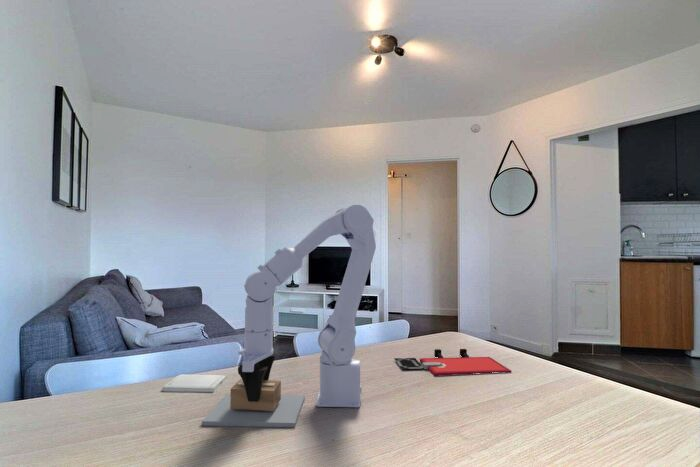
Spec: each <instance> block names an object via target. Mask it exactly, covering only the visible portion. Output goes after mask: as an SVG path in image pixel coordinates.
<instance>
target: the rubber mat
mask: <svg viewBox="0 0 700 467" xmlns="http://www.w3.org/2000/svg"><path fill="white" fill-rule="evenodd" d="M305 396H306V395H304V394H303V395H300V394H299V395H298V394H295V395H293V394H288V395H287V394H281V400H280V401H279V403H278V405H277V406H276V408H275V410H274V411H265V410H245V409H230V400H231V393H228V394H227V393H225V394H224V396H223V397H222V398H221V399H220V400H219V401H218V402H217V404H216V405H215V406H214V407H213V408H212V409H211V410H210V412H208V413H207V415H206V416H205V417H204V418H203V419H202V421H201V426H208V427H212V426H213V427H214V426H216V427H261V428H262V427H263V428H264V427H265V428H266V427H268V428H269V427H270V428H271V427H272V428H273V427H274V428H296V427H297V426H296V425H297V423H298V420H299V417H300V413H301V411H302V409H303V408H302V407H303V405H304V402H305Z"/></svg>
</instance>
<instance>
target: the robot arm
mask: <svg viewBox="0 0 700 467" xmlns="http://www.w3.org/2000/svg"><path fill="white" fill-rule="evenodd" d="M374 221H375V220H374V218H373V217H372V215H371V213H370V211H369V210H368V209H367V208H366V207H365V206H363V205H361V204H351V205H350V206H348V207H345V208H340V209H338V210H337V211H336V212H334V214H331V215H329V216H328V217H327V218H325V219H324V220H322V221H321V222H320V223H319V224H318V225H317V226H315V228H313V229H312V230H311V231H310V232H309V233H308V234H307V235H306V236H305V237H303V238H302V239H301V240H300V241H299V242H298V243H297V244H295V245H294V246H293V247H287V246H285V247H283V248H282V249H280V248H278V249H276V250H275V251H274V254H275V255H274V256H272V257H271V258H270V259H268V260H267V261H266V262H265V263H264V264H263V265H262V264H259V265H258V266H257V270H259V271H256V272H255V271H254V272H253V273H252V272H251V273H250V274H249V276H248V277H247V278H246V281H245V282H244V283H245V284H244V285H243V286H244V290H245V293H246V294H247V295H246V299H245V305H246V306H245V308H244V347H243V348H240V349H239V350H238V355H240V356H243V361H242V363H241V364H239V366H238V367H237V373H238V375H239V376H240V379H242V380H243V383H244V386H245V390H246V394H247V399H248V401H249V402H258V401H259V399H260V395H261V388H262V382H263V380H270V375H271V370H272V367H273V364H274V362H275V360H276V358H277V353H276V352H274V347H273V338H274V337H273V336H274V335H273V333H274V332H273V327H274V305H273V296H274V295H275V293H276V290H277V287H279V286H282V285H283V284H284V283H285V282H287V280H288V279H289V278H291V277H292V276H293V275H294V274H295V273H297V271H299V270H300V269H301V268H302V267H303V260H304V258H305V257H306V256H308V255H309V254H310V253H311V252H313V251H314V250H315V249H317V247H319V246H320V245H322V244H323V243H324V242H325V241H326V240H328V239H329V238H330V237H333V236H337V235H341V236H342V237H343V238H345V240H346V242H347V243H348V245H349V246H350V248H351V252H350V256H349V259H348V262H347V267H346V268H345V269H346V270H345V273H344V276H343V278H342V283H341V285H340V288H339V292H338V295H337V299H336V302H335V305H334V309H333V312H332V314H331V315H329V317H328V318H327V320H326V324H325V325H324V327H323V328H322V329H321V331H319V333H318V336H317V344H318V346H319V348H320V349H321V351H322V352H321V354H320V356H319V391H318V395H317V398H316V402H315V406H316V407H318V408H320V407H322V408H323V407H324V408H326V407H327V408H330V407H331V408H360V407H361V395H362V388H363V387H362V384H361V360H360V359H355V358H353V357H354V356H355V352H356V340H355V339H356V335H357V328H356V322H355V320H356V316H357V313H358V310H359V306H360V303H361V300H362V297H363V292H364V289H365V287H366V282H367V280H368V275H369V273H370V269H371V266H372V263H373V259H374V256H375V251H376V246H377V244H376V238H375V234H374V233H375V232H374Z"/></svg>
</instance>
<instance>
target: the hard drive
mask: <svg viewBox="0 0 700 467" xmlns="http://www.w3.org/2000/svg"><path fill="white" fill-rule="evenodd" d="M227 379H228V375H220V374H219V375H218V374H217V375H215V374H178V375H177V376H175V377H174V378H172V379H171V380H170V381H169V382H167V383H166V384H164V385H163V386H162V392H184V393H185V392H188V393H189V392H191V393H194V392H195V393H198V392H199V393H215V391H217V390H218V389H219V387H221V385H223V383H225V381H226V380H227Z"/></svg>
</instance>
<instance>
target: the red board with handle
mask: <svg viewBox="0 0 700 467" xmlns="http://www.w3.org/2000/svg"><path fill="white" fill-rule="evenodd" d="M433 351H434V355H433V356H435V357H438V358H435V357H434V358H433V357H428V358H419V361H418V360H417V358H416V357H401V358H400V357H398V358H393V359H394V360H395V362H396V363H397V364H398V366H399V367H400V369H401V370H407V369H408V370H410V369H412V370H413V369H423V368H424V369H428V370H429V371H430V372H431V373H432V374H433V375H434V376H433V375H432V374H431V373H430V372H429V371H428V370H427V371H428V372H429V373H430V374H431V375H432V376H433V377H440V376H439V375H451V376H453V375H452V374H472V375H474V374H473V373H492V372H512V370H511V369H509V368H507V367H506V366H505V365H504V364H502V363H500V362H498V361H496V360H495V359H494V358H492V357H490V356H480V357H479V356H469V354H468V350H467V349H466V348H460V349H459V356H460V355H461V356H464V357H444V356H443V355H442V349H440V348H439V349H438V348H436V349H434V350H433ZM424 369H423V370H424Z"/></svg>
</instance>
